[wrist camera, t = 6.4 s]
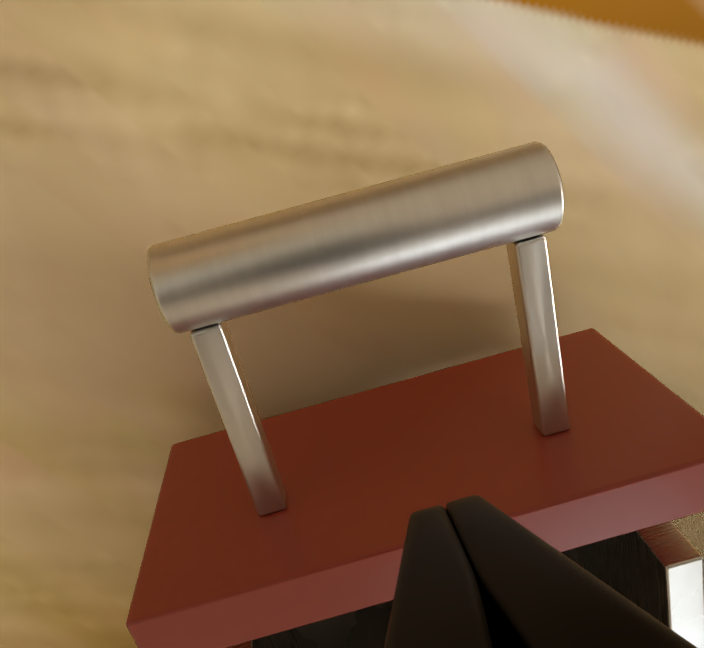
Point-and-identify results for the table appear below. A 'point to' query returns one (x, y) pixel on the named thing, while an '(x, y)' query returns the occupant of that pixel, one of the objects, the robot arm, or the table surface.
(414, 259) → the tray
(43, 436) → the table surface
